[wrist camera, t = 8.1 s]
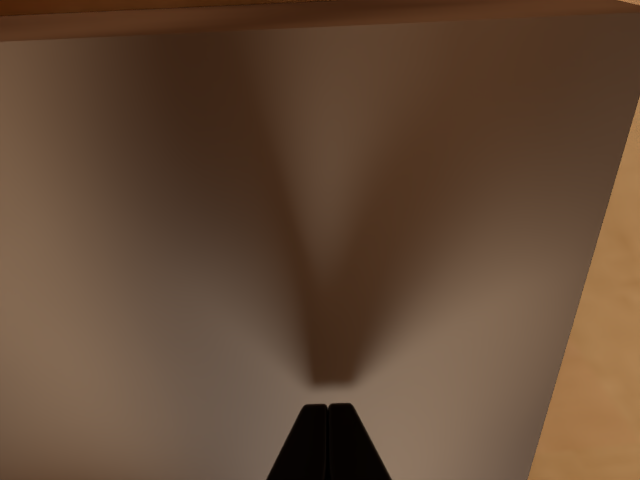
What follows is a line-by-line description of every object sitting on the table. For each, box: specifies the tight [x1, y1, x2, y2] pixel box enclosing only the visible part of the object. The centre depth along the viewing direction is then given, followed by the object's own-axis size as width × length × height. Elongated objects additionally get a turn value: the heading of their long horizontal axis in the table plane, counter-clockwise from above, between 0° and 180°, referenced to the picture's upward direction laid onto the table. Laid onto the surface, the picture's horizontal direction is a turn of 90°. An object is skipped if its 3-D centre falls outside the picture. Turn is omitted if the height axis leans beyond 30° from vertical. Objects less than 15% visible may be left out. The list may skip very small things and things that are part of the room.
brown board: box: [0, 0, 640, 480], centre depth 10 cm, size 11×12×2 cm
